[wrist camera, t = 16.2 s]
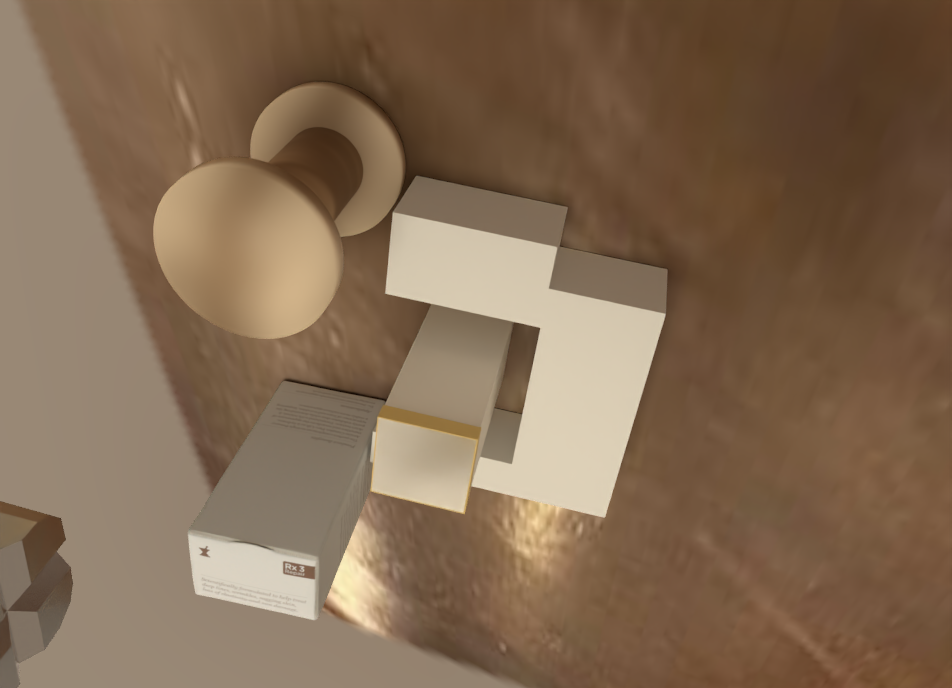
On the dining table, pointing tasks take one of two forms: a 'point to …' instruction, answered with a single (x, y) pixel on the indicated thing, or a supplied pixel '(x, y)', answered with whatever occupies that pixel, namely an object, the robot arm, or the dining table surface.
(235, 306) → the spool
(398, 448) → the gold trimmed white carton
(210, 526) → the skincare box
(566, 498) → the notched board
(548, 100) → the dining table surface
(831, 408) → the dining table surface
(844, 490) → the dining table surface
